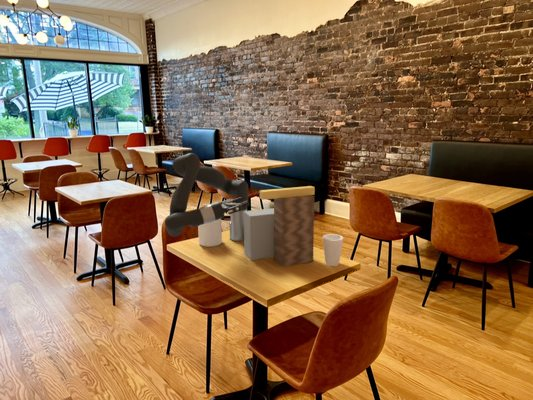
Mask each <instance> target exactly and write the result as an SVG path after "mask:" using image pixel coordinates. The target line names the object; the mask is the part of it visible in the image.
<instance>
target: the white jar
mask: <svg viewBox="0 0 533 400" xmlns="http://www.w3.org/2000/svg"><path fill="white" fill-rule="evenodd" d="M197 228H198V230H197V232H198V233H197V234H198V244H199V245H200V246H202V247H207V248H208V247H209V248H210V247H217V246H219V245H221V244H222V242H223V231H222V230H223V229H222V218H221V219H218V220H215V221H213V222H210V223H205V224H202V225H199V226H197Z"/></svg>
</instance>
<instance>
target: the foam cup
mask: <svg viewBox="0 0 533 400" xmlns="http://www.w3.org/2000/svg"><path fill="white" fill-rule="evenodd" d="M322 244H323V245H322V246H323V253H324V263H325V265H327V266H329V267H337V266H339V264H340V260H341V255H342V250H343V249H342V248H343V244H344V237H343V236H342V235H340V234H336V233H329V234H328V233H327V234H324V235H322Z"/></svg>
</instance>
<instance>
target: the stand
mask: <svg viewBox="0 0 533 400" xmlns="http://www.w3.org/2000/svg"><path fill="white" fill-rule="evenodd" d="M273 208H274V257H273V258H274V259H273V260H274V261H276V262H277V264H278V265H280V266H281V267H288V266H289V267H290V266H295V265H301V264H306V263H307V264H308V263H314V237H315V236H314V235H315V234H314V233H315V228H314V227H315V195H306V196H295V197H285V198H274V199H273Z"/></svg>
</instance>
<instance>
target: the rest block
mask: <svg viewBox="0 0 533 400" xmlns="http://www.w3.org/2000/svg"><path fill="white" fill-rule="evenodd" d="M243 244H244V245H243V246H244V248H243V249H244V254H245V256H246V257H247V258H248V259H249V260H250V261H256V260H260V259H269V258H274V207H273V208H264V209H254V210H247V211H244V243H243Z"/></svg>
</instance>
